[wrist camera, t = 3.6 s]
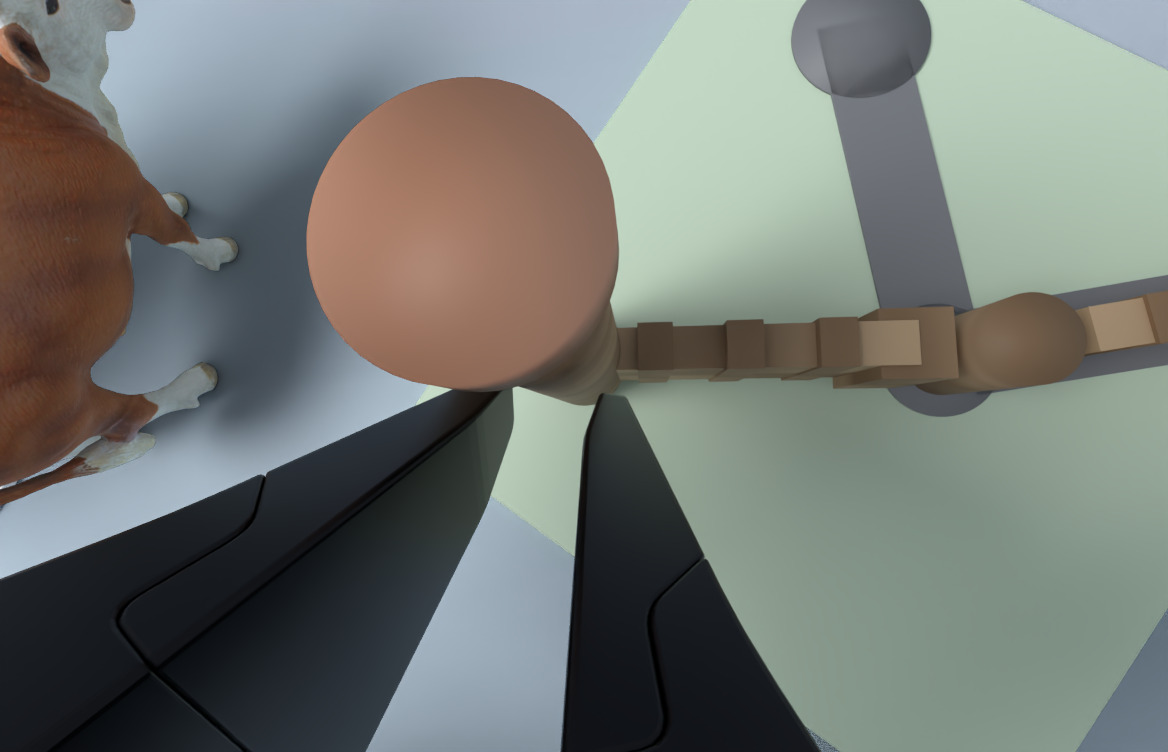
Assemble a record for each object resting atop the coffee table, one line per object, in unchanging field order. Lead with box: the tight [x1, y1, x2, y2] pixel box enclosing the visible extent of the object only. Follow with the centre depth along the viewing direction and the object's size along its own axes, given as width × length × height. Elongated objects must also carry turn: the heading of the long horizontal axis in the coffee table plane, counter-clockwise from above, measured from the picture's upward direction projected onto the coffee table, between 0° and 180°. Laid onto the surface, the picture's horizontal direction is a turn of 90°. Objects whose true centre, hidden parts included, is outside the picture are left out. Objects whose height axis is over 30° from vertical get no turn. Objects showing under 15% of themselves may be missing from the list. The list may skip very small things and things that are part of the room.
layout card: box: [415, 0, 1168, 752], centre depth 15 cm, size 21×20×1 cm
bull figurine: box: [0, 0, 238, 506], centre depth 14 cm, size 4×13×8 cm, turn 167°
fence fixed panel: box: [915, 291, 1168, 395], centre depth 13 cm, size 10×2×4 cm, turn 99°
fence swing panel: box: [306, 77, 959, 406], centre depth 10 cm, size 10×3×11 cm, turn 90°
